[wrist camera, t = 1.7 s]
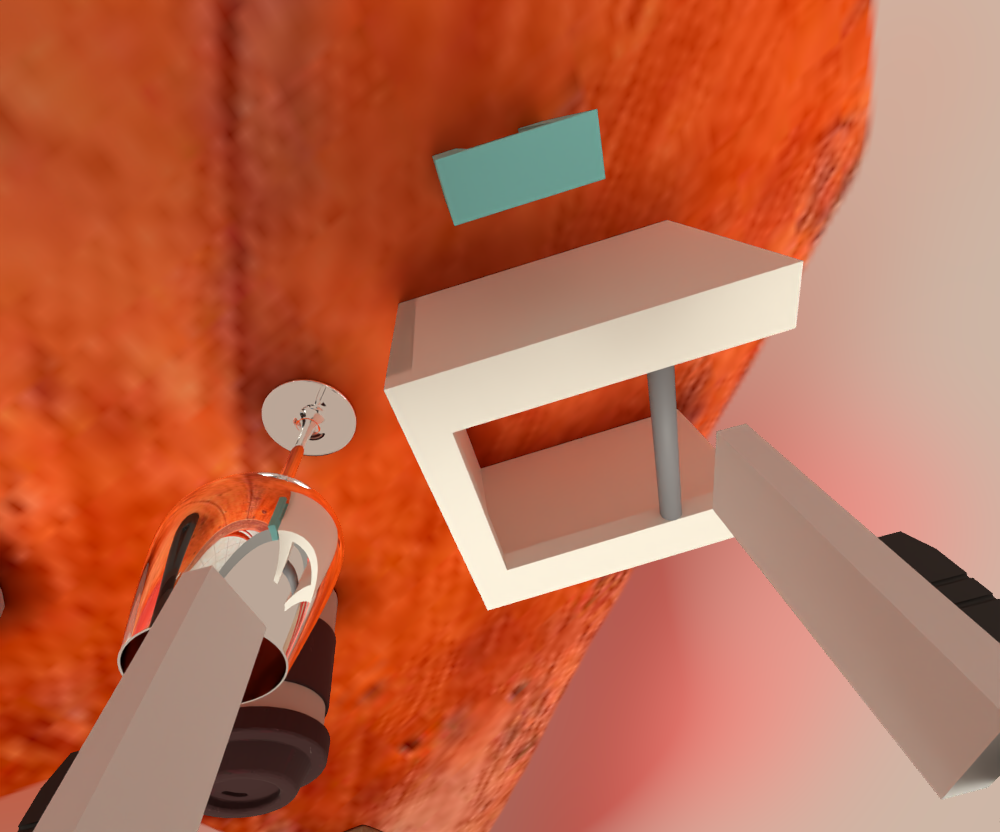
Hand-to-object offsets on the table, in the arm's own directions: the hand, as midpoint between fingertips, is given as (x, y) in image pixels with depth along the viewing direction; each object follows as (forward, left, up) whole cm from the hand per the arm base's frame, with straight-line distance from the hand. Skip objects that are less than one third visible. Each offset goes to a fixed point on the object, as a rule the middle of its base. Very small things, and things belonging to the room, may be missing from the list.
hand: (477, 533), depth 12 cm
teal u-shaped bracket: (-7, +5, -20) cm, 22 cm away
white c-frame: (+7, +6, -20) cm, 22 cm away
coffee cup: (+22, -22, -21) cm, 37 cm away
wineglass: (+5, -12, -21) cm, 24 cm away
